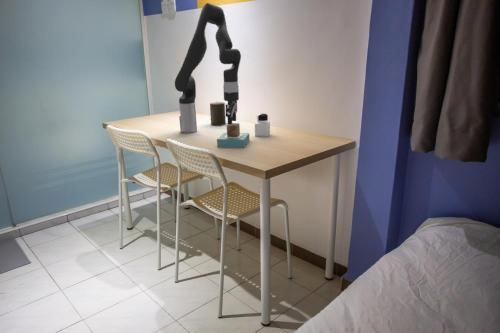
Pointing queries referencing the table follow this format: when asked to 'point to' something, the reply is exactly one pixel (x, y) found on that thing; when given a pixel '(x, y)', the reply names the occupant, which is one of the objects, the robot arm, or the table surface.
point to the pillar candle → (217, 113)
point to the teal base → (233, 140)
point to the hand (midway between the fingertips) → (232, 122)
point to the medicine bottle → (262, 125)
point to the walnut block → (233, 130)
